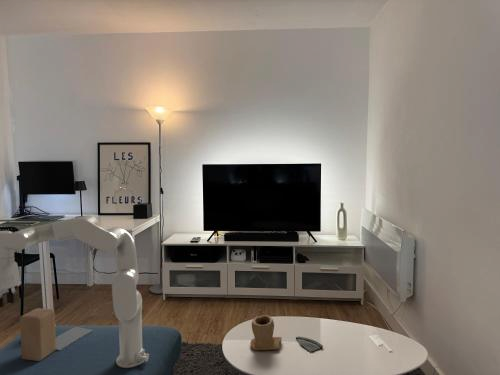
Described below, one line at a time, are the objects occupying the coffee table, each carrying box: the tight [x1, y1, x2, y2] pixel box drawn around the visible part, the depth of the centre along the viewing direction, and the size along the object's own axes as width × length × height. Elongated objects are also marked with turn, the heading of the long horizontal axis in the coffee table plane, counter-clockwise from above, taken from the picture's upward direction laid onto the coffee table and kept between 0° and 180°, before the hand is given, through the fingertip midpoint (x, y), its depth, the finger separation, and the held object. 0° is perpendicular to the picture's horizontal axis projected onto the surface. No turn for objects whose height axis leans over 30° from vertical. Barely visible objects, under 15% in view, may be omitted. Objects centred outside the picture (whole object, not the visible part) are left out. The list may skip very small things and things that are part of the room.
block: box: [19, 307, 57, 362], centre depth 155 cm, size 10×10×20 cm
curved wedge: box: [295, 336, 324, 354], centre depth 163 cm, size 8×14×2 cm, turn 30°
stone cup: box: [250, 314, 283, 351], centre depth 160 cm, size 15×12×15 cm
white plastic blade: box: [368, 334, 393, 353], centre depth 163 cm, size 5×15×1 cm, turn 5°
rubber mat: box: [55, 326, 94, 352], centre depth 170 cm, size 12×20×1 cm, turn 161°
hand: (5, 304), depth 140 cm, fingers open, 3 cm apart
